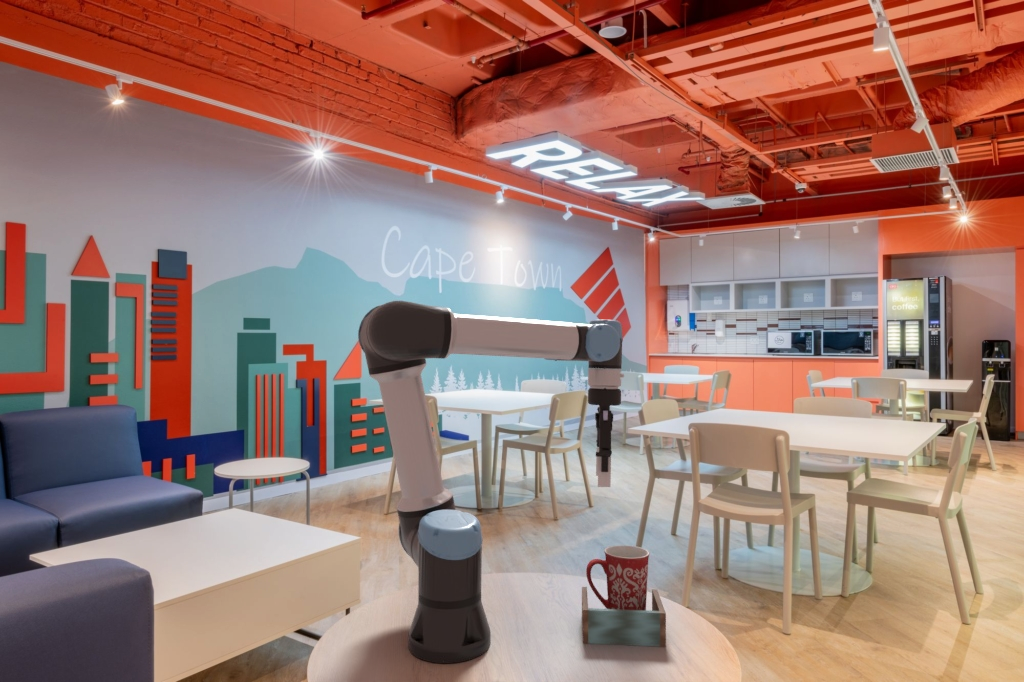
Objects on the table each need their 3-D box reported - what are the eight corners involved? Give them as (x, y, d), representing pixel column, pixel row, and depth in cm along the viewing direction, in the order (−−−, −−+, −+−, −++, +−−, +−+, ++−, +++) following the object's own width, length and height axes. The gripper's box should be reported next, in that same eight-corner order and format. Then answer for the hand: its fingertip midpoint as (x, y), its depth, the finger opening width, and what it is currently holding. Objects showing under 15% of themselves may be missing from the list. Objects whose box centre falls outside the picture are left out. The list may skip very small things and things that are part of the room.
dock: (582, 643, 118) (582, 610, 118) (581, 616, 130) (581, 586, 130) (665, 646, 117) (665, 613, 117) (657, 619, 129) (657, 589, 129)
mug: (646, 610, 133) (645, 544, 134) (654, 628, 124) (653, 557, 125) (585, 610, 134) (584, 544, 134) (589, 628, 125) (588, 557, 125)
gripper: (625, 390, 134) (623, 492, 133) (617, 386, 159) (616, 472, 158) (589, 389, 135) (587, 491, 134) (587, 385, 160) (585, 471, 159)
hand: (602, 481), depth 146 cm, fingers open, 13 cm apart
